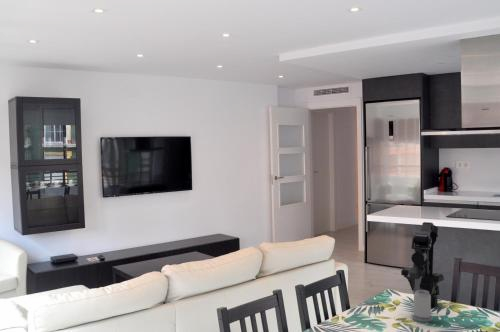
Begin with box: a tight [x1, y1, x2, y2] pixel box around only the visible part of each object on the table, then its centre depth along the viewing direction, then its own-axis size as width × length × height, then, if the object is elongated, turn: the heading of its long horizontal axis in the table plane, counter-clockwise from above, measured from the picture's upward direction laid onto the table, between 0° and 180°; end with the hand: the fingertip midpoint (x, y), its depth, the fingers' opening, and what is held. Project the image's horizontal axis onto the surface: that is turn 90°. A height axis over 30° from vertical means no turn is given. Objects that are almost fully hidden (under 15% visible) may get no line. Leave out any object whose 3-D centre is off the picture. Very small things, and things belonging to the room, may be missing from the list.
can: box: [413, 289, 432, 319], centre depth 227 cm, size 8×8×12 cm
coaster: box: [411, 313, 434, 324], centre depth 228 cm, size 9×9×1 cm
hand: (422, 292), depth 227 cm, fingers open, 9 cm apart
